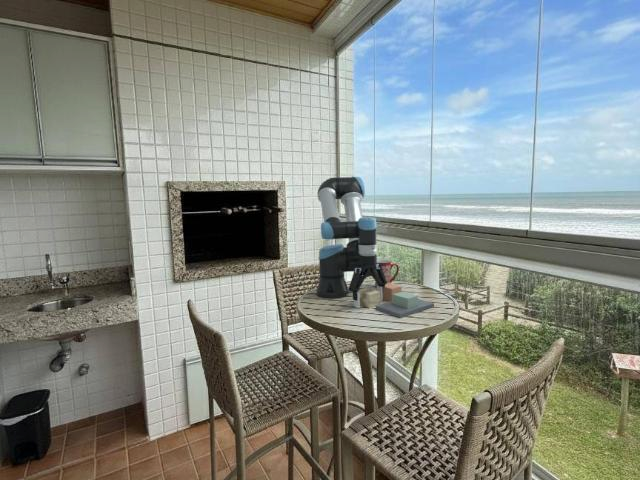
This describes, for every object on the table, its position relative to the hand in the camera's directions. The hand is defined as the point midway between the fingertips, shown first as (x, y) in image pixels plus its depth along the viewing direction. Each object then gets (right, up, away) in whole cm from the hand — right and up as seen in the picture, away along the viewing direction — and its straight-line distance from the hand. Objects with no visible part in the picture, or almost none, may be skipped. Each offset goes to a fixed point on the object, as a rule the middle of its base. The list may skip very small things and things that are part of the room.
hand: (368, 304), depth 141 cm
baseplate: (+14, 0, -6) cm, 15 cm away
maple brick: (0, 0, 0) cm, 0 cm away
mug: (+13, +3, +27) cm, 30 cm away
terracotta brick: (+11, +1, +7) cm, 13 cm away
